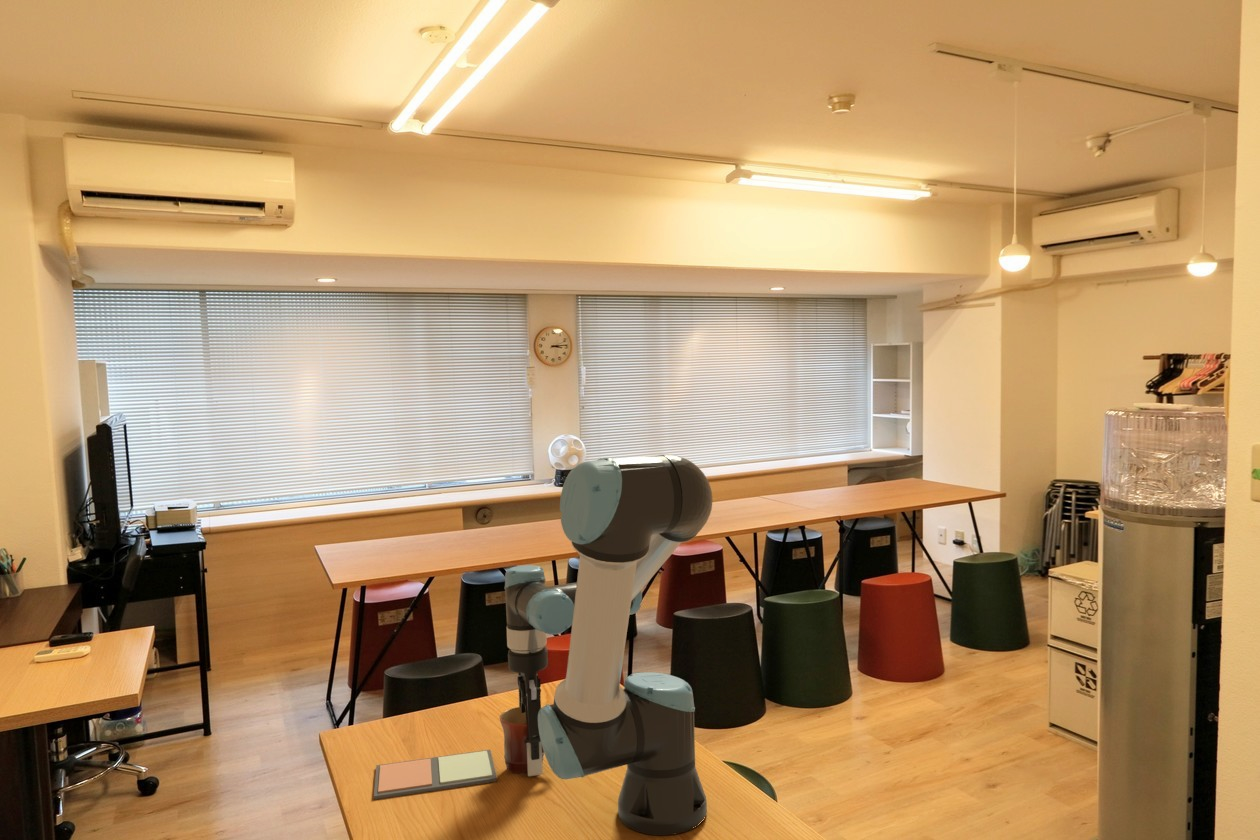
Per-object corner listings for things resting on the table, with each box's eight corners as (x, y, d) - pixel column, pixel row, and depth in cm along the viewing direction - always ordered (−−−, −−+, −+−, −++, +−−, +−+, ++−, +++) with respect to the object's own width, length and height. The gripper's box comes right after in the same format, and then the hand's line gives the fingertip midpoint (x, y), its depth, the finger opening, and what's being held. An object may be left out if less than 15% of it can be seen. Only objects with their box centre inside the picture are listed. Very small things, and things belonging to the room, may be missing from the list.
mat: (496, 781, 157) (496, 776, 157) (373, 799, 151) (373, 794, 151) (490, 752, 169) (490, 748, 169) (376, 768, 164) (376, 763, 164)
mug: (496, 778, 157) (494, 724, 157) (507, 757, 166) (505, 706, 166) (559, 778, 156) (557, 724, 156) (567, 758, 165) (565, 706, 164)
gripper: (555, 661, 152) (560, 785, 153) (539, 631, 172) (543, 742, 172) (514, 665, 150) (519, 792, 151) (502, 635, 170) (506, 747, 170)
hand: (532, 765), depth 162 cm, fingers closed on mug, 7 cm apart
